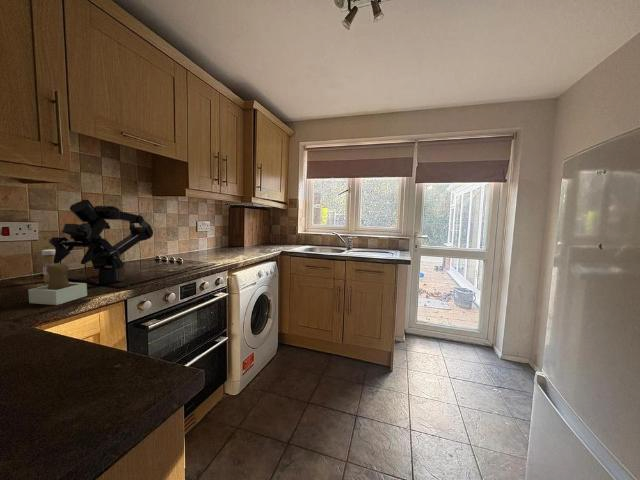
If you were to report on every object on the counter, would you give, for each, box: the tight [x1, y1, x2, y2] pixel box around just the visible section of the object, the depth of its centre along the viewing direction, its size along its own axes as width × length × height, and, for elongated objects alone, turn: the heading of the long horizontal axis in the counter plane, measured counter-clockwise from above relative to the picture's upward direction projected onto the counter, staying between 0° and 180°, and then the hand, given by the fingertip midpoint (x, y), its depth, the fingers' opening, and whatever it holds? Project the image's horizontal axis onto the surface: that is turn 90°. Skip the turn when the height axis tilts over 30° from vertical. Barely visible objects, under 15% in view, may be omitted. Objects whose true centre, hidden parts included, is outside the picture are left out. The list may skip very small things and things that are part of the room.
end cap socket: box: [27, 281, 88, 306], centre depth 90 cm, size 10×10×4 cm
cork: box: [47, 263, 70, 290], centre depth 89 cm, size 6×6×11 cm
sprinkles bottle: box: [41, 249, 59, 283], centre depth 111 cm, size 5×5×14 cm
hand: (68, 263), depth 93 cm, fingers open, 9 cm apart
